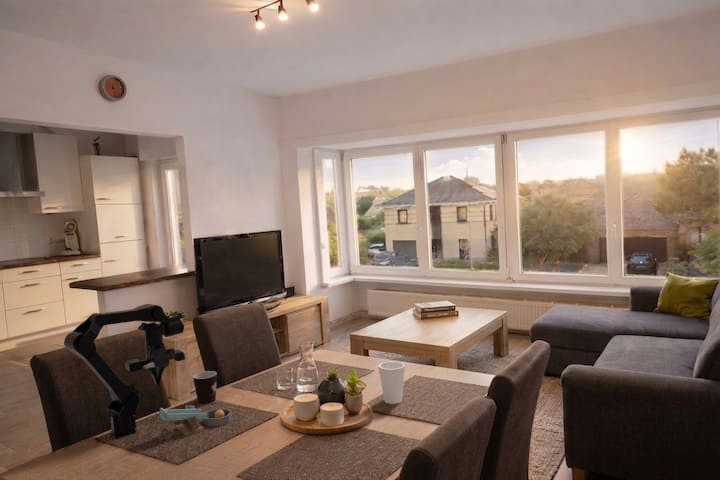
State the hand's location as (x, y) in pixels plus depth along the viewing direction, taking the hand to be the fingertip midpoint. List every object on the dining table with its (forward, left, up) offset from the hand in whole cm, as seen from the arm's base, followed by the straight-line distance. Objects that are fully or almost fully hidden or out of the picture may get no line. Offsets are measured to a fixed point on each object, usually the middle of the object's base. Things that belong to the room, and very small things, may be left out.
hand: (157, 384), depth 184 cm
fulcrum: (+1, -17, -12) cm, 21 cm away
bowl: (+14, -17, -12) cm, 25 cm away
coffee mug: (+20, +4, -12) cm, 24 cm away
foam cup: (+67, -47, -12) cm, 83 cm away
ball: (+14, -17, -10) cm, 24 cm away
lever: (+2, -13, -7) cm, 15 cm away
